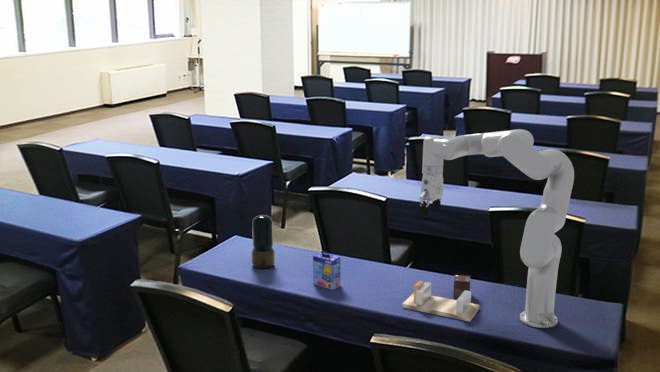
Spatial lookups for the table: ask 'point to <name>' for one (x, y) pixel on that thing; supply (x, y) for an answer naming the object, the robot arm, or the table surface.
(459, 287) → the box
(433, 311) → the vise base
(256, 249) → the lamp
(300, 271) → the table surface
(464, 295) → the fixed jaw
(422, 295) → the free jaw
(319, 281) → the ink cartridge box
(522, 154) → the robot arm
